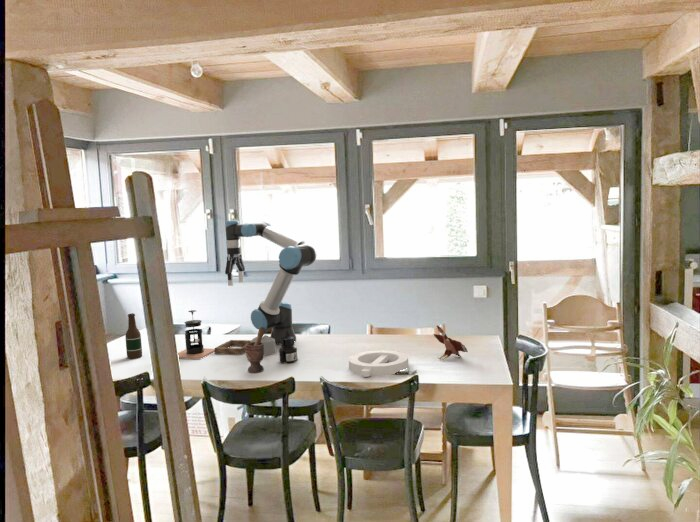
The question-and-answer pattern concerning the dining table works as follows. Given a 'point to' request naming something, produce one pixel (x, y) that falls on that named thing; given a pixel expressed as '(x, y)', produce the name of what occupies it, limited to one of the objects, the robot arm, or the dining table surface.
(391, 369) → the white circle with bar
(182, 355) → the terracotta pad
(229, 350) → the brown wooden tray
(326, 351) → the dining table surface
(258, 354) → the mortar and pestle
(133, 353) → the beer bottle
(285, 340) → the ink bottle
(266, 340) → the lumpy-topped squat cylinder
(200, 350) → the french press
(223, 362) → the dining table surface
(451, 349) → the decorative bird
